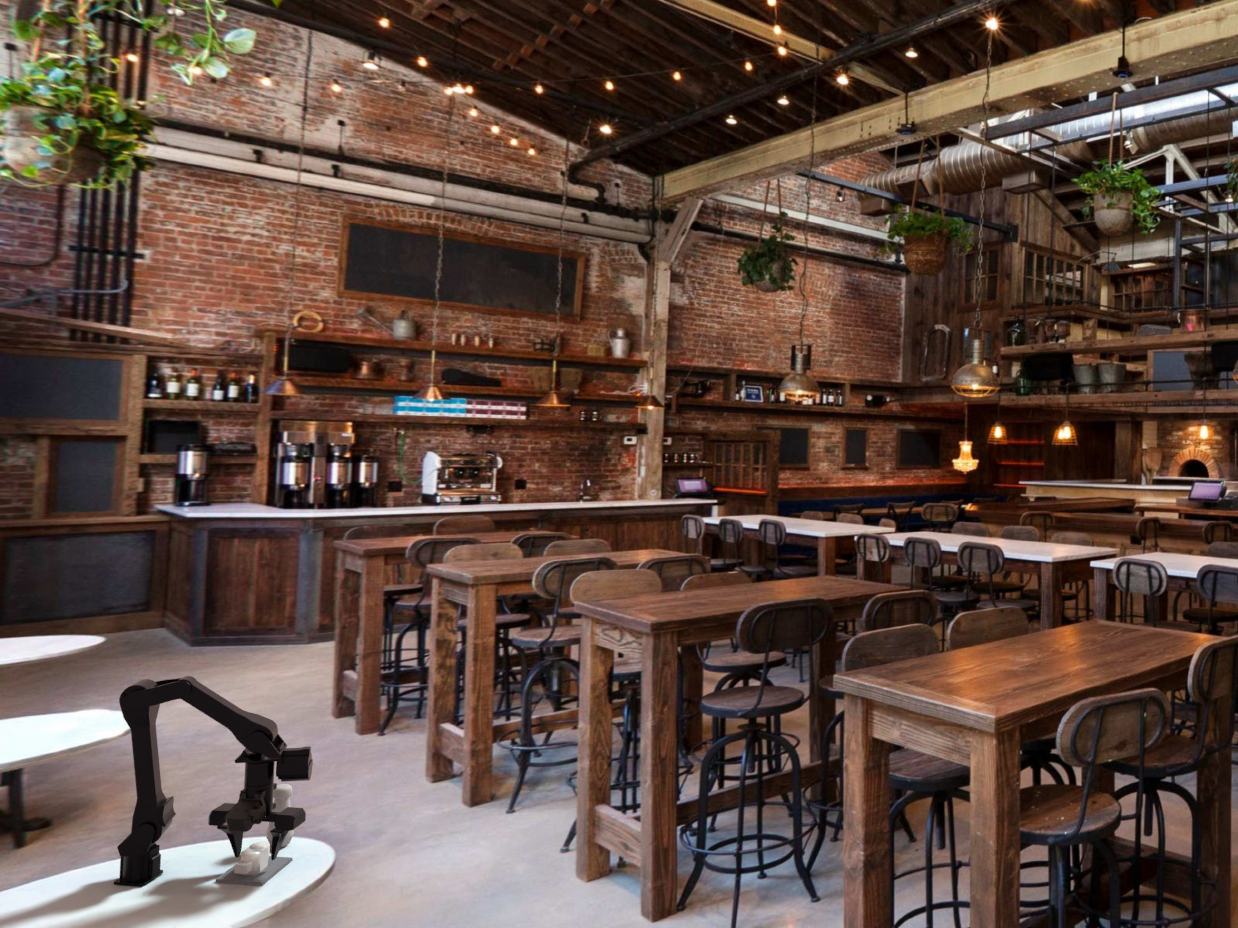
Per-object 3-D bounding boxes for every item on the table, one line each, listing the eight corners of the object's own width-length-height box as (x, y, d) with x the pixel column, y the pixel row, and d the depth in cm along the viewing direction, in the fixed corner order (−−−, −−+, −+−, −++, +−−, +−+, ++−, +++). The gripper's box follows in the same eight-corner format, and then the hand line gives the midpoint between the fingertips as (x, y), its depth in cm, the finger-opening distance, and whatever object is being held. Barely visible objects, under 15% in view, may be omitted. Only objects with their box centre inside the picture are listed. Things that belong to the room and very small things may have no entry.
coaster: (215, 881, 166) (215, 878, 166) (248, 857, 178) (248, 854, 178) (262, 885, 165) (262, 882, 165) (292, 860, 177) (292, 857, 177)
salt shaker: (283, 850, 182) (285, 790, 182) (260, 848, 183) (262, 788, 183) (298, 840, 187) (301, 782, 188) (276, 838, 188) (278, 780, 189)
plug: (255, 860, 175) (255, 841, 175) (272, 861, 175) (273, 842, 175) (230, 878, 166) (231, 858, 166) (249, 880, 166) (250, 859, 166)
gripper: (193, 792, 165) (189, 871, 165) (281, 797, 163) (277, 878, 162) (225, 774, 176) (222, 849, 176) (308, 779, 174) (305, 855, 174)
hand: (255, 858), depth 171 cm, fingers open, 8 cm apart
